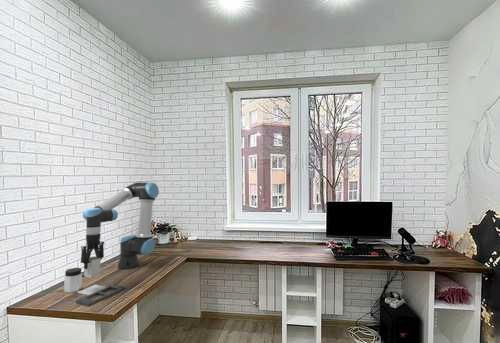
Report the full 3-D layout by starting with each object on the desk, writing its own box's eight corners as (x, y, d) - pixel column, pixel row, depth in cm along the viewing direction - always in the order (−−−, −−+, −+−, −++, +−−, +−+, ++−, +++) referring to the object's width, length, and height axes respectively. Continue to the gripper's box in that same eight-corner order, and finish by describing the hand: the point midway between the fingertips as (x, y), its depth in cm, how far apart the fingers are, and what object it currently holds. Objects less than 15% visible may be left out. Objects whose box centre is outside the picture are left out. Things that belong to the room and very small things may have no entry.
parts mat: (95, 285, 168) (95, 284, 168) (106, 287, 164) (106, 287, 164) (76, 292, 157) (76, 292, 157) (88, 295, 153) (88, 294, 153)
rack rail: (113, 286, 166) (113, 284, 166) (125, 289, 162) (125, 287, 162) (75, 303, 144) (75, 300, 144) (88, 306, 140) (88, 304, 140)
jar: (69, 287, 164) (69, 267, 165) (83, 286, 166) (84, 267, 166) (61, 293, 155) (62, 272, 156) (77, 292, 157) (77, 271, 157)
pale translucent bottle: (100, 274, 162) (100, 256, 162) (91, 277, 156) (91, 259, 157) (93, 273, 164) (93, 255, 165) (83, 276, 159) (84, 258, 159)
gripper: (102, 230, 171) (101, 266, 171) (73, 236, 154) (72, 276, 153) (111, 231, 169) (110, 268, 168) (82, 237, 151) (81, 278, 150)
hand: (92, 272), depth 160 cm, fingers closed on pale translucent bottle, 6 cm apart
